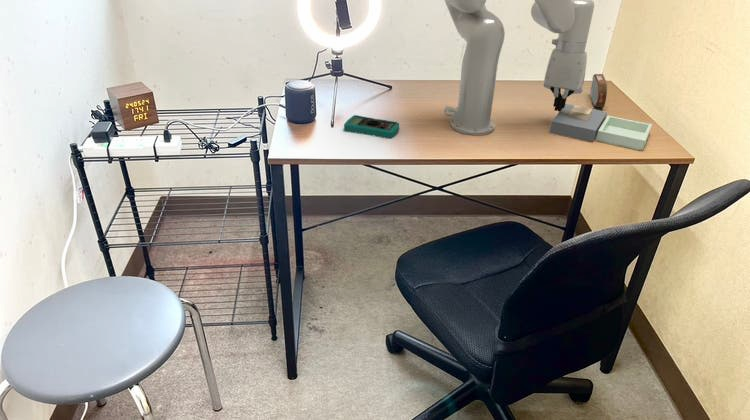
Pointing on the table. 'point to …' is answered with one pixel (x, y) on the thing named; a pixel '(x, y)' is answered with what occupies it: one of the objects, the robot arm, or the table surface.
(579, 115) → the block
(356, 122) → the digital multimeter
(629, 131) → the box
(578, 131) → the plate
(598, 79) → the tin
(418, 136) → the table surface
